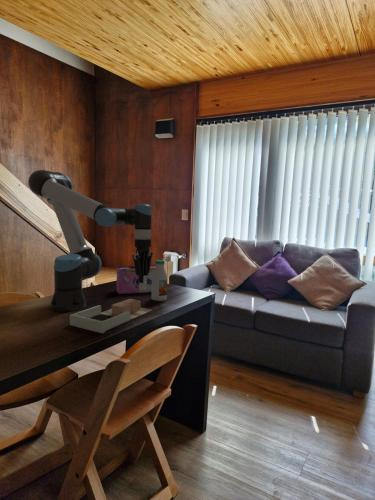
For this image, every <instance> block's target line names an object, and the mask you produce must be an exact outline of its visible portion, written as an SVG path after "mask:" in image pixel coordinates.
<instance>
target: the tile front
mask: <svg viewBox="0 0 375 500" xmlns="http://www.w3.org/2000/svg"><path fill="white" fill-rule="evenodd" d="M111 309H112V314H113V315H119V314H122V313H124V312H127V311H129V312H130V313H132V304H129V303H124V302H122V301H119V302H116V303H112V304H111Z"/></svg>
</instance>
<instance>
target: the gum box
mask: <svg viewBox="0 0 375 500" xmlns="http://www.w3.org/2000/svg"><path fill="white" fill-rule="evenodd" d="M155 267H156V265H154V264H153V265H150V272H149V273H148V274H149V275H146V290H140V289H139V276H137V275H136V271H135V265H128V266H127V265H126V266H116V292H117V293H118V294H119V295H121V294H123V295H124V294H138V293H152V275H153V272H154V270H155Z"/></svg>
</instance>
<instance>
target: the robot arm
mask: <svg viewBox="0 0 375 500" xmlns="http://www.w3.org/2000/svg"><path fill="white" fill-rule="evenodd" d="M27 183H28V187H29V189H30V191H32V193H33V194H35V195H37V196H39V197H41V198H43V199H45V200H46V201H47V203H48V204H50V205H52V207H53V210H54V214H55V216H56V217H57V221H58V223H59V226H60V229H61V232H62V234H63V238H64V239H65V242H66V245H67V248H68V250H69V252H68V254H67V253H66V254H61V255H59V256H57V257H55V259H54V261H53V262H54V263H53V271H54V273H53V274H54V276H53V277H54V280H53V281H54V283H53V284H54V286H53V287H54V291H53V295H52V298H51V301H50V309H51V310H52V311H54V312H60V313H63V312H64V313H65V312H66V313H67V312H68V313H70V312H75V311H79V310H83V309H84V308H86V307H87V301H86V298H85V295H84V292H83V281H86V280H87V279H91V278H94V277H96V276H97V275H98V274H100V271H101V270H102V260H101V257H100V256H99V255H97V254H96V253H94V250H93V249H92V247H90V246H88V244H87V242H86V238H85V236H84V233H83V231H82V228H81V225H80V222H79V219H78V217H77V214H76V212H78V213H80V214H81V215H84V216H86V217H88V218H90V219H92V220H95V221H96V223H97V224H98V225H99V226H101V227H112V226H113V227H115V226H134V238H135V239H134V247H135V248H136V249H135V254H132V255H131V256H132V259H133V264H134V265H133V266H135V271H136V275H137V276H139V289H140V290H146V275H149V274H148V273H149V272H150V265H151V264H152V257H153V255H154V254H153V252H151V251H150V248H151V247H152V239H151V238H152V206H151V205H150V204H146V203H145V204H143V203H142V204H140V203H138V204H137V203H136V204H134V208H120V207H118V208H117V207H116V208H115V207H113V208H112V207H109V206H107V205H105V204H103V203H101V202H99V201H96V200H94V199H92V198H91V197H88V196H86V195H84V194H82V193H80V192H78V191H75V190H73V187H74V186H73V182H72V180H71V179H70V177H69V176H68V175H66V174H64V173H61V172H59V171H50V170H45V169H39V170H34V171H33V172H31V174H30V175H29V177H28V181H27ZM75 211H76V212H75Z"/></svg>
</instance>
